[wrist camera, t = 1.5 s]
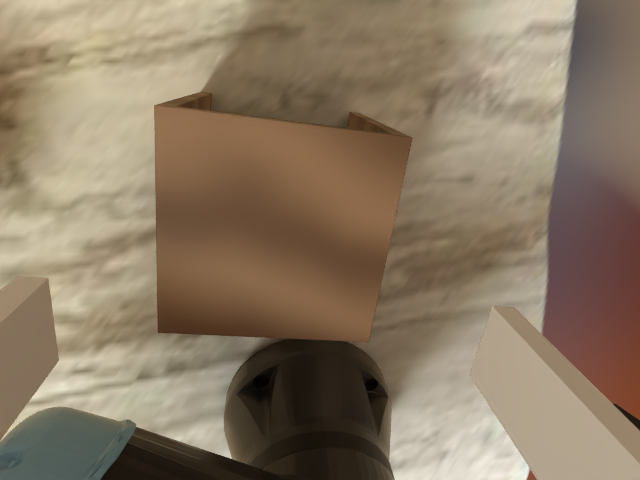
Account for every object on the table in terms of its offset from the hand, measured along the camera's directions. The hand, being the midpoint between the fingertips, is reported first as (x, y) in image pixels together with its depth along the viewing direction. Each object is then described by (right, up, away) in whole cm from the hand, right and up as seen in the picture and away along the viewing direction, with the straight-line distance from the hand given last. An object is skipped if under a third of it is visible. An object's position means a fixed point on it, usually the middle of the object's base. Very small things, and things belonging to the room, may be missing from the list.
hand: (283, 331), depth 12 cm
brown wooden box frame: (-2, +7, +18) cm, 19 cm away
